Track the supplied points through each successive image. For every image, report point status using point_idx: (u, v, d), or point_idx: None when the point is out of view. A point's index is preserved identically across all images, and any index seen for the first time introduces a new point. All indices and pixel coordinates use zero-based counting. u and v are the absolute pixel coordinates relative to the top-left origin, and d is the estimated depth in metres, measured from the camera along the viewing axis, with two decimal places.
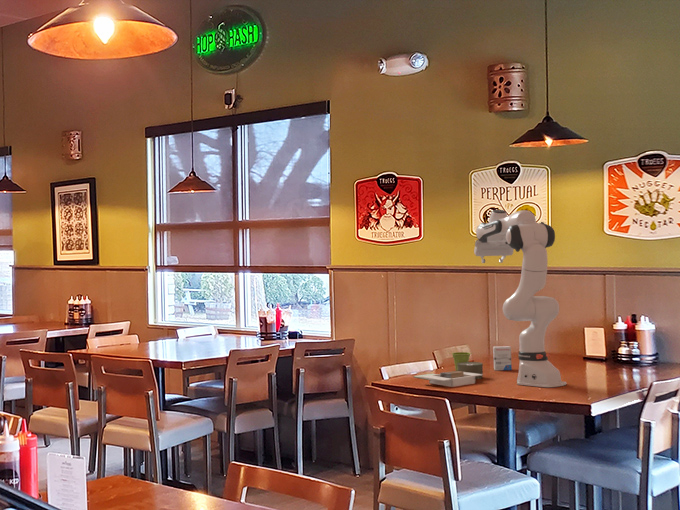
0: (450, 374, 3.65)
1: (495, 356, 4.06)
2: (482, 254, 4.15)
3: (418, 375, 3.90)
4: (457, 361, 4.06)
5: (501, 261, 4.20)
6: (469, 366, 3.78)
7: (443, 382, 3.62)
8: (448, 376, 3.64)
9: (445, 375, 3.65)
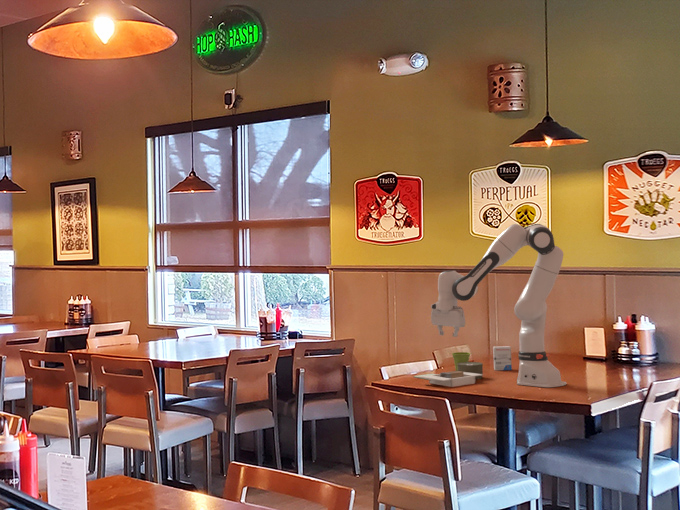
0: (450, 374, 3.65)
1: (495, 356, 4.06)
2: None
3: (418, 375, 3.90)
4: (457, 361, 4.06)
5: None
6: (469, 366, 3.78)
7: (443, 382, 3.62)
8: (448, 376, 3.64)
9: (445, 375, 3.65)
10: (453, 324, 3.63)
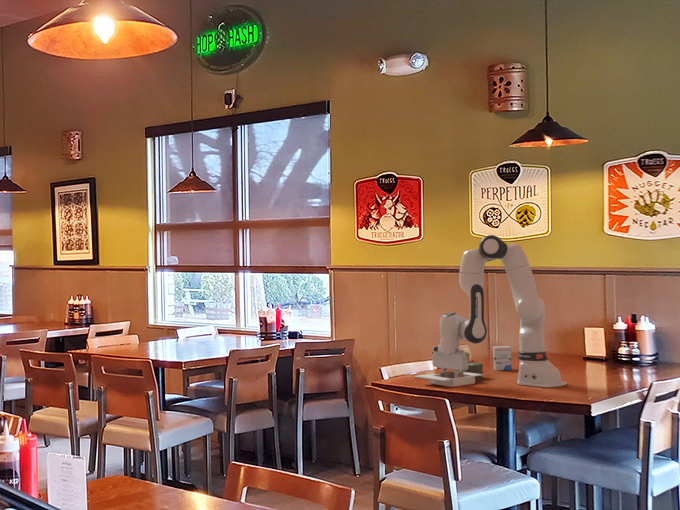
0: (450, 374, 3.65)
1: (495, 356, 4.06)
2: None
3: (418, 375, 3.90)
4: None
5: None
6: (469, 366, 3.78)
7: (443, 382, 3.62)
8: (448, 376, 3.64)
9: (445, 375, 3.65)
10: (456, 367, 3.62)
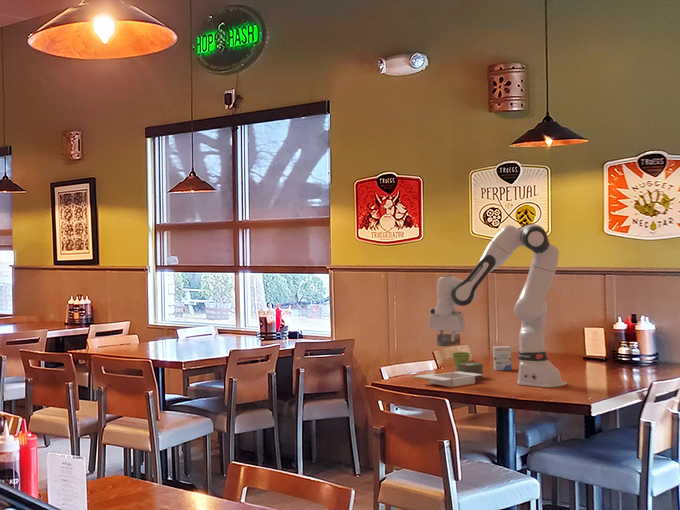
0: (447, 336, 3.67)
1: (495, 356, 4.06)
2: None
3: (418, 375, 3.90)
4: (457, 361, 4.06)
5: None
6: (469, 366, 3.78)
7: (443, 382, 3.62)
8: (445, 337, 3.66)
9: (442, 337, 3.66)
10: (453, 329, 3.64)
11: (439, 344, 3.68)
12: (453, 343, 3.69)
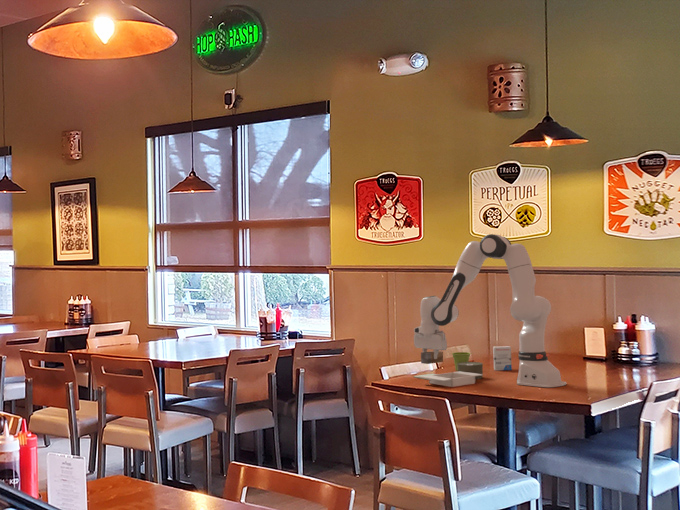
0: (430, 353, 3.85)
1: (495, 356, 4.06)
2: None
3: (418, 375, 3.90)
4: (457, 361, 4.06)
5: None
6: (469, 366, 3.78)
7: (443, 382, 3.62)
8: (428, 355, 3.84)
9: (425, 354, 3.84)
10: (435, 347, 3.82)
11: (423, 361, 3.86)
12: (436, 361, 3.87)
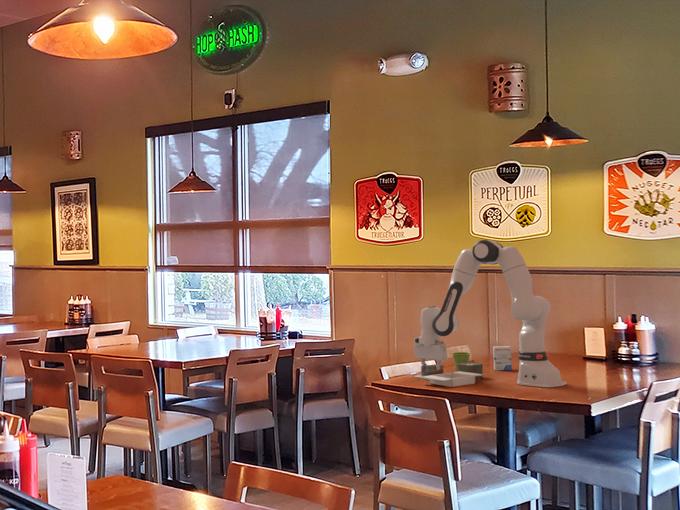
0: (430, 367, 3.85)
1: (495, 356, 4.06)
2: None
3: (418, 375, 3.90)
4: (457, 361, 4.06)
5: None
6: (469, 366, 3.78)
7: (443, 382, 3.62)
8: (428, 369, 3.84)
9: (425, 368, 3.84)
10: (436, 358, 3.82)
11: (423, 375, 3.86)
12: None
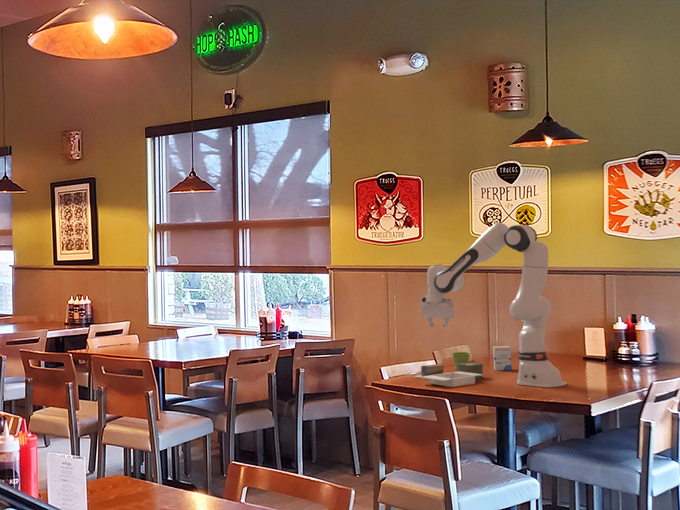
0: (430, 367, 3.85)
1: (495, 356, 4.06)
2: None
3: (418, 375, 3.90)
4: (457, 361, 4.06)
5: None
6: (469, 366, 3.78)
7: (443, 382, 3.62)
8: (428, 369, 3.84)
9: (425, 368, 3.84)
10: (443, 315, 3.83)
11: (423, 375, 3.86)
12: None
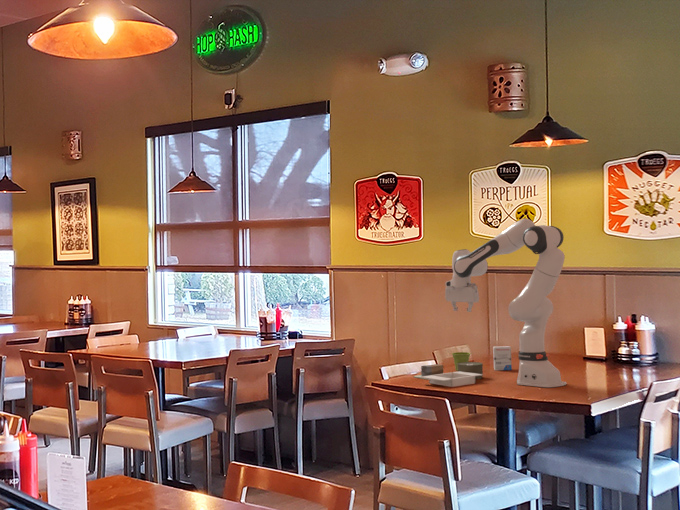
0: (430, 367, 3.85)
1: (495, 356, 4.06)
2: None
3: (418, 375, 3.90)
4: (457, 361, 4.06)
5: None
6: (469, 366, 3.78)
7: (443, 382, 3.62)
8: (428, 369, 3.84)
9: (425, 368, 3.84)
10: (467, 300, 3.86)
11: (423, 375, 3.86)
12: None
